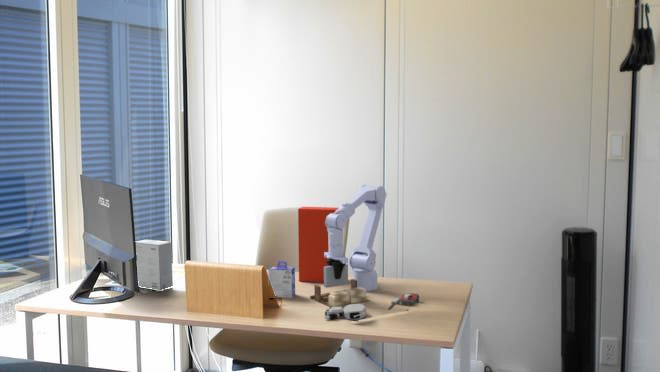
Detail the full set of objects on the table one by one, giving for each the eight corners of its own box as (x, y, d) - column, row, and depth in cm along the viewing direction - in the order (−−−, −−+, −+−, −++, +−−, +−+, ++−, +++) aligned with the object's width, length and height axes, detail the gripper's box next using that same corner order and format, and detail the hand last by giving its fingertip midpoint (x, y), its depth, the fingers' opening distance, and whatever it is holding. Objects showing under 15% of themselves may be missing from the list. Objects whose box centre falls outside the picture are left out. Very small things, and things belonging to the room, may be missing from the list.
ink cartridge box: (296, 296, 287) (295, 261, 285) (292, 300, 281) (292, 264, 280) (272, 295, 289) (271, 260, 287) (268, 299, 283) (267, 263, 282)
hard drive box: (173, 288, 301) (172, 242, 299) (160, 292, 295) (158, 245, 292) (147, 283, 309) (145, 238, 307) (134, 287, 303) (132, 241, 301)
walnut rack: (348, 294, 290) (348, 277, 289) (371, 303, 276) (371, 285, 275) (310, 300, 280) (309, 283, 279) (331, 310, 267) (331, 292, 266)
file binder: (304, 277, 319) (303, 206, 315) (341, 279, 314) (341, 207, 311) (298, 281, 311) (297, 208, 307) (337, 283, 307) (336, 210, 303)
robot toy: (324, 326, 251) (367, 323, 251) (323, 314, 251) (366, 310, 250) (326, 316, 263) (366, 313, 263) (325, 304, 263) (365, 301, 262)
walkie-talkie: (398, 299, 283) (385, 312, 265) (398, 288, 283) (385, 301, 264) (420, 300, 280) (409, 315, 262) (420, 289, 280) (409, 303, 261)
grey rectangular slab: (345, 283, 284) (345, 263, 283) (348, 284, 282) (347, 264, 281) (323, 286, 278) (323, 266, 277) (326, 287, 277) (326, 267, 276)
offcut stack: (360, 298, 279) (360, 287, 279) (366, 300, 276) (365, 289, 276) (328, 304, 272) (328, 292, 271) (334, 306, 268) (334, 295, 268)
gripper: (317, 242, 282) (317, 275, 284) (337, 248, 270) (337, 283, 272) (332, 240, 286) (332, 273, 288) (352, 246, 274) (352, 280, 275)
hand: (336, 278), depth 280 cm, fingers closed on grey rectangular slab, 2 cm apart
